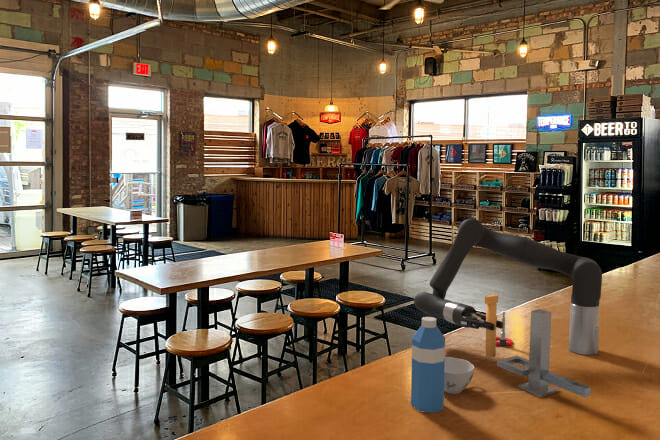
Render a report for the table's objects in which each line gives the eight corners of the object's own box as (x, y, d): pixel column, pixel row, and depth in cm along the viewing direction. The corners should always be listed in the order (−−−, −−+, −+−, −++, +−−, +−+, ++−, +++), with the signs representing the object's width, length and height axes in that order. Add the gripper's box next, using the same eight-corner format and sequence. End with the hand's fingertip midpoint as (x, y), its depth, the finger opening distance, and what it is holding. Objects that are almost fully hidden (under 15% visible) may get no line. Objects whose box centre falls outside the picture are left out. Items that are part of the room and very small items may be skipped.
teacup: (455, 402, 157) (455, 375, 156) (422, 388, 166) (422, 362, 165) (487, 389, 166) (488, 363, 165) (454, 376, 176) (454, 352, 175)
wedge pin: (491, 352, 183) (492, 293, 181) (499, 355, 180) (500, 295, 178) (482, 355, 181) (482, 295, 178) (489, 358, 178) (490, 297, 176)
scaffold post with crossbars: (496, 379, 173) (498, 304, 170) (516, 373, 178) (518, 300, 175) (576, 414, 149) (580, 328, 147) (596, 406, 154) (601, 322, 151)
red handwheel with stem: (487, 339, 213) (491, 346, 203) (488, 306, 212) (492, 311, 203) (510, 340, 211) (514, 347, 202) (511, 307, 211) (515, 312, 201)
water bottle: (407, 399, 159) (408, 314, 156) (439, 397, 160) (440, 313, 157) (414, 413, 150) (416, 324, 147) (448, 412, 151) (450, 323, 148)
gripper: (444, 306, 187) (482, 318, 173) (474, 300, 195) (513, 311, 180) (444, 328, 188) (482, 341, 173) (473, 321, 195) (513, 333, 181)
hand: (497, 326), depth 177 cm, fingers closed on wedge pin, 3 cm apart
